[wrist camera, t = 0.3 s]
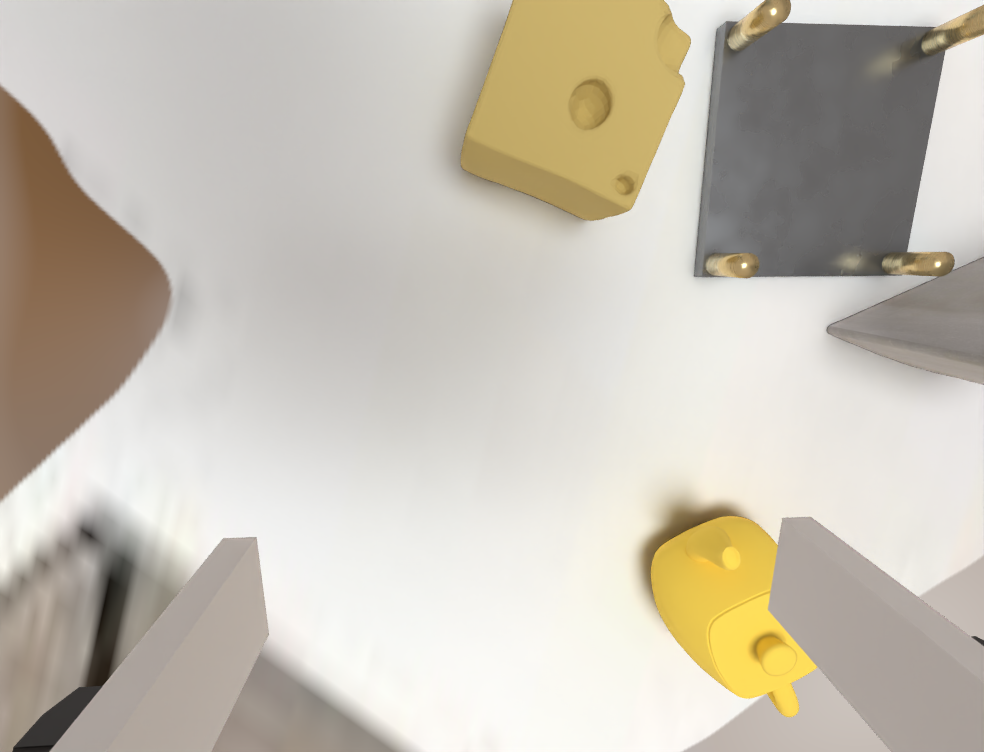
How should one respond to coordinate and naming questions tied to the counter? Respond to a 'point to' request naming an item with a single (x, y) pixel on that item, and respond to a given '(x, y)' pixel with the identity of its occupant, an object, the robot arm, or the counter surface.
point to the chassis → (820, 146)
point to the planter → (928, 325)
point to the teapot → (729, 609)
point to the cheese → (577, 101)
